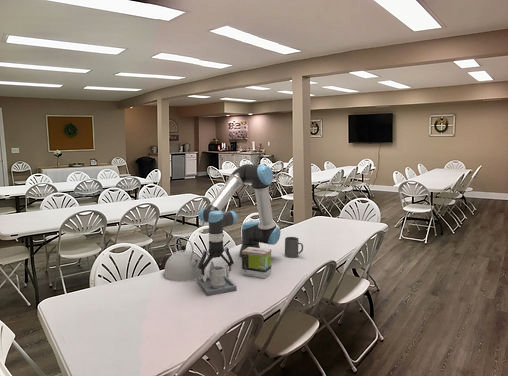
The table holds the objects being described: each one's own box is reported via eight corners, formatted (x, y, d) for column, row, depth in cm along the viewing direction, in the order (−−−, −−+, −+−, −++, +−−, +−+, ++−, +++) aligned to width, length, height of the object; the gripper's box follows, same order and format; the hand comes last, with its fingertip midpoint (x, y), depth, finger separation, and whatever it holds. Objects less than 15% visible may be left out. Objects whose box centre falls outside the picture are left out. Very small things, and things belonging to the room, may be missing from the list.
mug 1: (216, 289, 199) (217, 267, 198) (203, 283, 208) (203, 261, 207) (227, 286, 205) (228, 264, 203) (214, 280, 213) (215, 259, 212)
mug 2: (282, 256, 258) (282, 238, 257) (289, 252, 265) (290, 236, 264) (299, 260, 250) (299, 242, 248) (306, 256, 257) (306, 239, 255)
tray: (197, 283, 211) (197, 279, 211) (224, 278, 218) (224, 274, 218) (207, 295, 195) (207, 291, 195) (236, 290, 202) (236, 286, 202)
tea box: (271, 273, 227) (271, 249, 225) (264, 279, 218) (265, 254, 216) (248, 269, 233) (248, 245, 231) (241, 274, 224) (241, 250, 222)
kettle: (213, 275, 224) (213, 237, 221) (181, 285, 208) (180, 245, 205) (188, 264, 241) (187, 229, 238) (156, 273, 225) (155, 236, 222)
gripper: (195, 245, 194) (196, 285, 197) (240, 239, 205) (240, 277, 208) (191, 241, 201) (192, 280, 204) (234, 235, 211) (234, 272, 215)
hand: (216, 278), depth 206 cm, fingers open, 12 cm apart
